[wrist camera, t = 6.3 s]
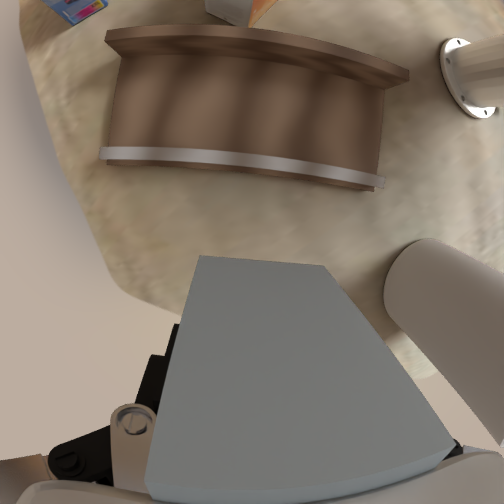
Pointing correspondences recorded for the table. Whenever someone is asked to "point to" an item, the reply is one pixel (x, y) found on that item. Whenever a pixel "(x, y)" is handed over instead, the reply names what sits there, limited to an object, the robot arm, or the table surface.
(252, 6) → the small box
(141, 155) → the wooden ridged tray
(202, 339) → the cabinet block
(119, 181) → the table surface
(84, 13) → the ink cartridge box
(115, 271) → the table surface
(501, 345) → the cylinder vase
